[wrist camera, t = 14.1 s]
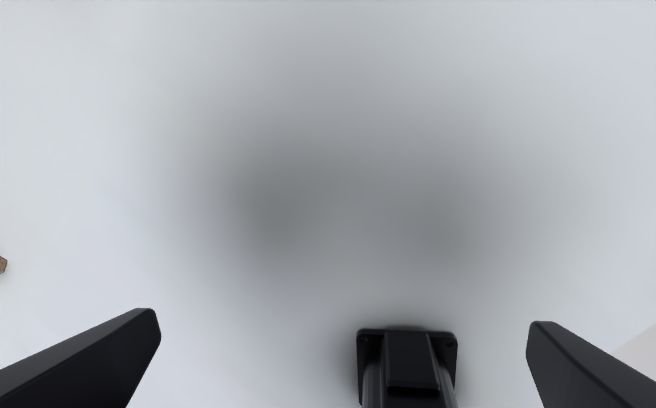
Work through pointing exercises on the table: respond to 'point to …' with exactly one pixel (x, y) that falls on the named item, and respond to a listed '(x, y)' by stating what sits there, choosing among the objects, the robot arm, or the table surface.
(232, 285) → the table surface
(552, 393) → the robot arm
